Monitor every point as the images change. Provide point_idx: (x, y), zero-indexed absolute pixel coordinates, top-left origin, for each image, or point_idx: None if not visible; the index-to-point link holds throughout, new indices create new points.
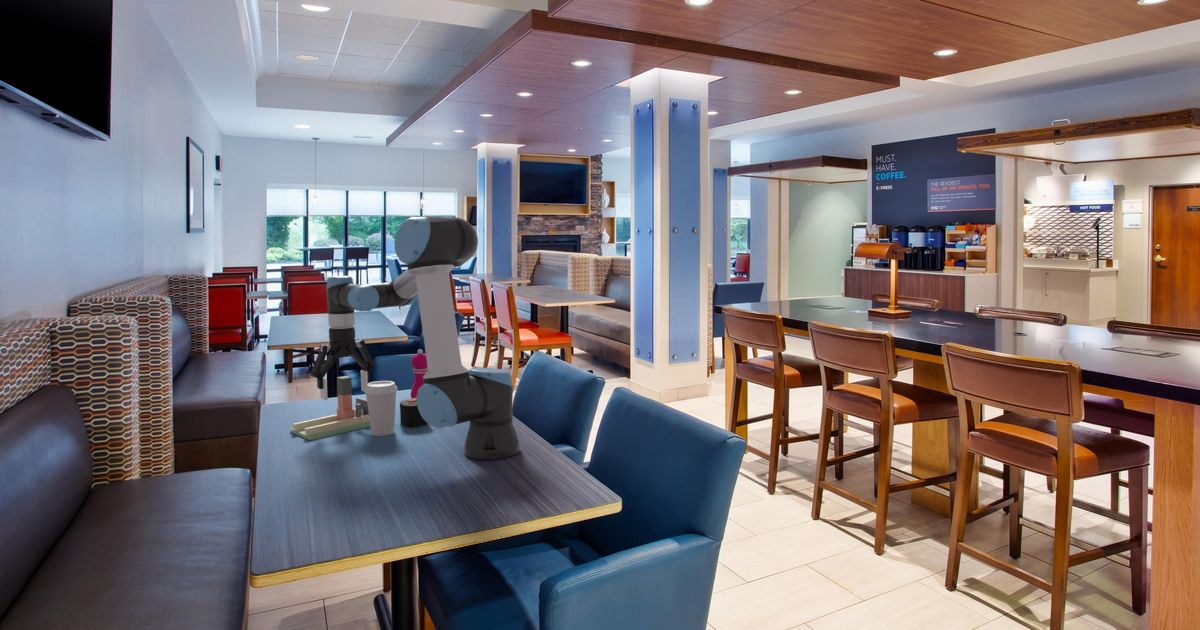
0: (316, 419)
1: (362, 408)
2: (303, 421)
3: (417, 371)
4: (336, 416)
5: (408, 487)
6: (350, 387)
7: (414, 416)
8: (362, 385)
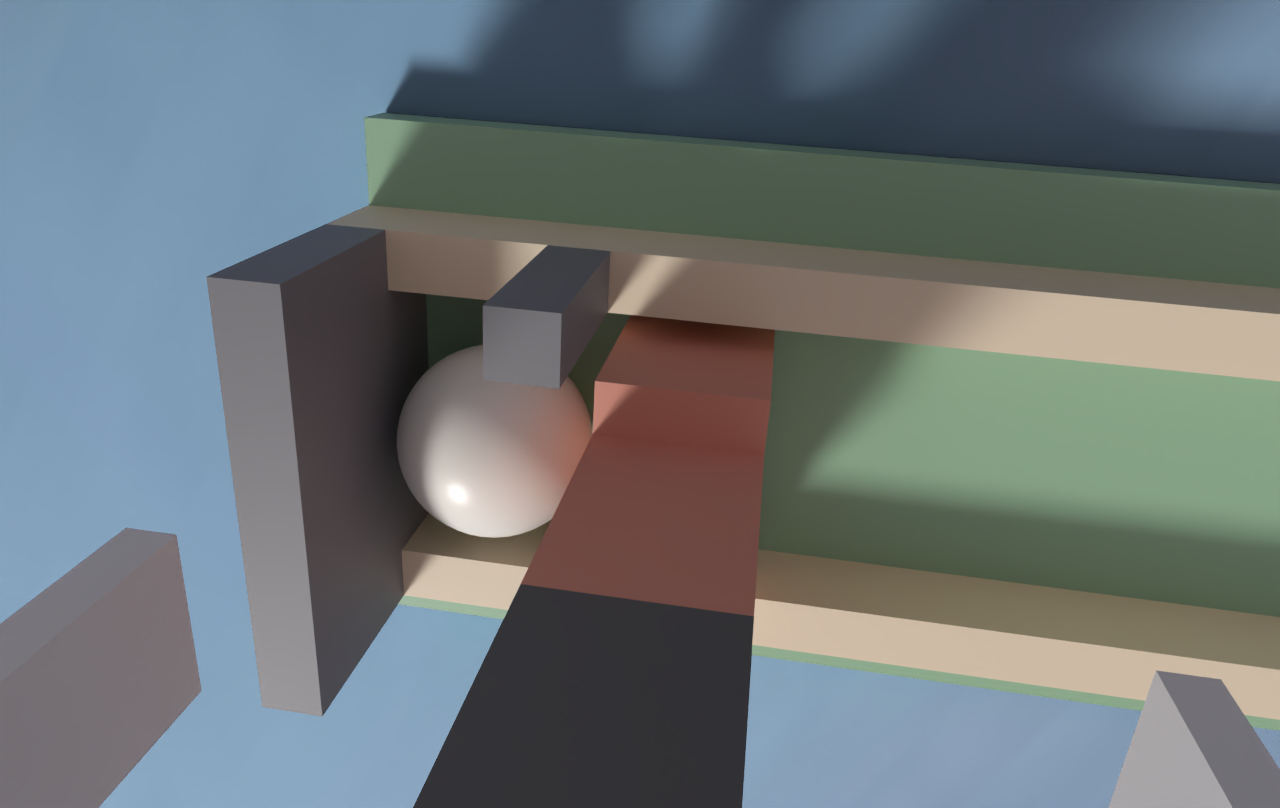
0: (1043, 650)
1: (372, 476)
2: None
3: None
4: None
5: None
6: (496, 698)
7: None
8: (111, 732)
